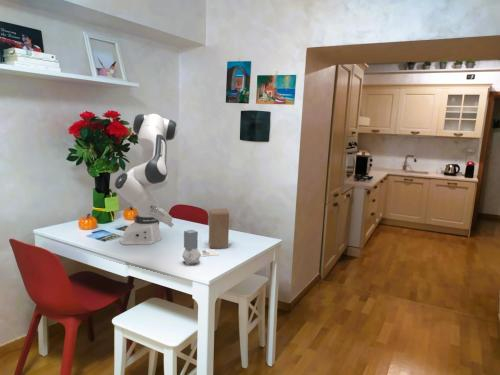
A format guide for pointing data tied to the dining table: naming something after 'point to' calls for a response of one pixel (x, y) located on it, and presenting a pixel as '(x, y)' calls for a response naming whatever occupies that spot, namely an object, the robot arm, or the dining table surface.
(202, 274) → the dining table surface
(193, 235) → the brick
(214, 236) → the block
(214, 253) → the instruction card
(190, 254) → the die
